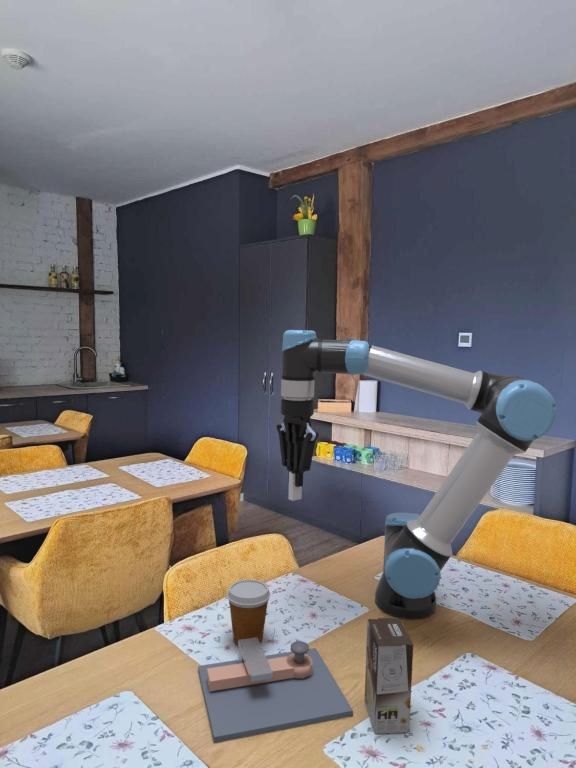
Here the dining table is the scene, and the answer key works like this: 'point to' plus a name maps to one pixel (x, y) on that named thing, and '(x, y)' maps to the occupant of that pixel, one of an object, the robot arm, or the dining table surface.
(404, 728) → the coffee box
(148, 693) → the dining table surface
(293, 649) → the link
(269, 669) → the block
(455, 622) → the dining table surface
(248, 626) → the disposable coffee cup
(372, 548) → the dining table surface
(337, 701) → the mount board
